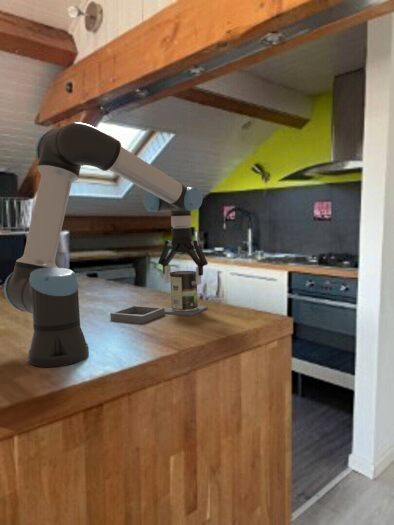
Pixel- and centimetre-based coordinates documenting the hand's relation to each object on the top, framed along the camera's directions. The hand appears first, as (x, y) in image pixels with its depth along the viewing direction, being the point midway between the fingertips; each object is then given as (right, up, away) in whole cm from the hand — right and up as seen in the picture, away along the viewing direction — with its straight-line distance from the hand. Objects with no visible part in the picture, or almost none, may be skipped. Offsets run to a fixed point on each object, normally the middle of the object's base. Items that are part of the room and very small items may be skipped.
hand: (183, 283), depth 162 cm
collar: (-16, -12, -7) cm, 21 cm away
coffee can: (+1, -10, +1) cm, 10 cm away
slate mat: (+1, -11, +1) cm, 11 cm away
